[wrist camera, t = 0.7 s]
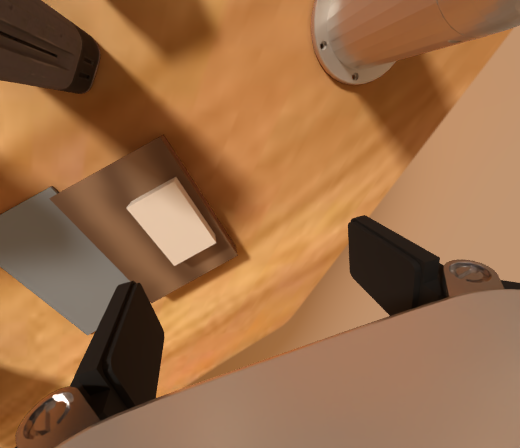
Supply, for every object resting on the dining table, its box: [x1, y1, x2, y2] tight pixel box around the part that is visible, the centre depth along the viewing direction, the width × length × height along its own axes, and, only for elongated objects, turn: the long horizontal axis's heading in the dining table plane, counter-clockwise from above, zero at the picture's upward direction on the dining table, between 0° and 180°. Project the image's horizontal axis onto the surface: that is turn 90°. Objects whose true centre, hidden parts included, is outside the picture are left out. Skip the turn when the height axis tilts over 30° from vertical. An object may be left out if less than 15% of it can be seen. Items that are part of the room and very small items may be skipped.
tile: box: [127, 177, 216, 266], centre depth 31 cm, size 6×9×2 cm, turn 27°
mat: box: [0, 186, 130, 335], centre depth 34 cm, size 12×20×1 cm, turn 27°
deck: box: [49, 135, 238, 303], centre depth 33 cm, size 14×18×3 cm
